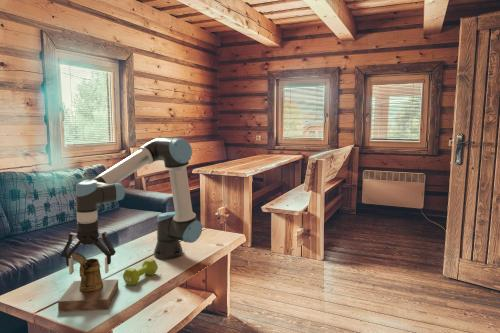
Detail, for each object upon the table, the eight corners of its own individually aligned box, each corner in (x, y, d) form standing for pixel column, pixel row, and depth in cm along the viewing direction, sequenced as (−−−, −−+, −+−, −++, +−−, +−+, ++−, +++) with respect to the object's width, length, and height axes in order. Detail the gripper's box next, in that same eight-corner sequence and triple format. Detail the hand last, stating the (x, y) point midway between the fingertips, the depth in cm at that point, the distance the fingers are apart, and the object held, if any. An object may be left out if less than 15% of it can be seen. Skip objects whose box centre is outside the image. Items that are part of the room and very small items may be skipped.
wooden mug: (66, 295, 145) (64, 251, 142) (89, 281, 157) (88, 240, 155) (85, 298, 142) (83, 253, 140) (107, 284, 155) (106, 242, 153)
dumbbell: (134, 288, 161) (134, 272, 160) (121, 284, 165) (120, 268, 164) (159, 274, 176) (159, 259, 175) (146, 271, 179) (146, 256, 178)
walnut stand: (118, 288, 160) (118, 279, 160) (107, 309, 143) (107, 299, 142) (74, 290, 158) (74, 281, 158) (58, 311, 140) (57, 301, 140)
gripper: (122, 218, 152) (123, 267, 154) (57, 219, 148) (59, 269, 151) (118, 223, 144) (119, 275, 147) (50, 224, 141) (52, 277, 144)
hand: (89, 272), depth 149 cm, fingers open, 13 cm apart
